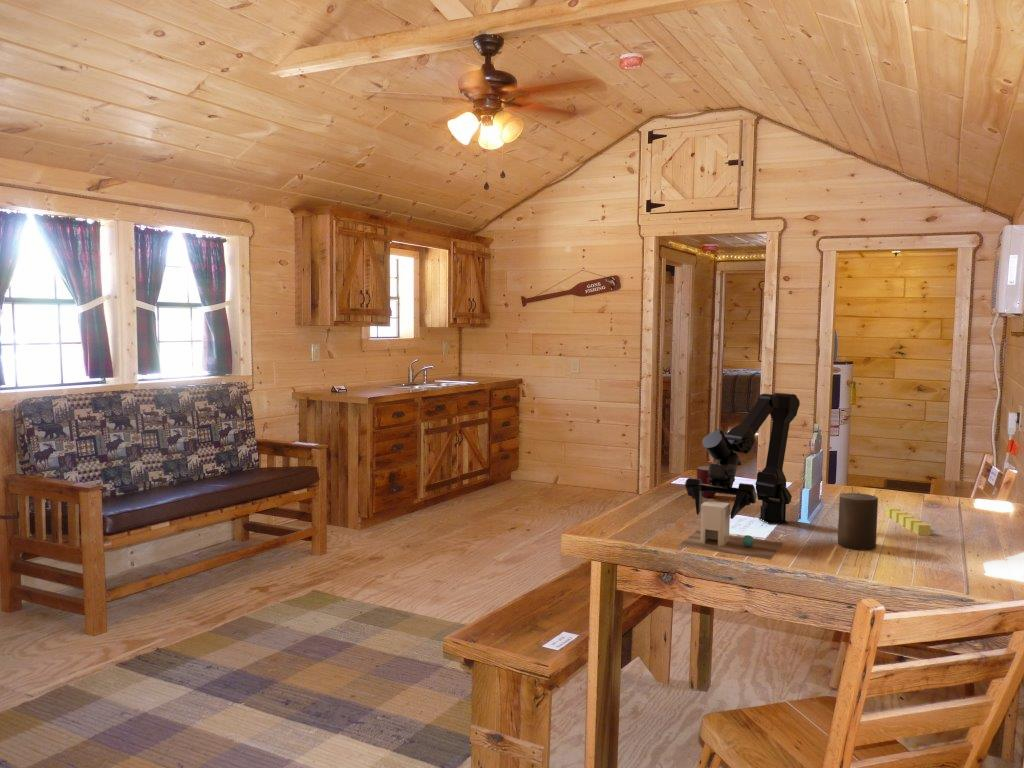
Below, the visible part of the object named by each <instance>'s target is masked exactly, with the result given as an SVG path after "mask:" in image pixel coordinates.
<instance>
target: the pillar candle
mask: <svg viewBox="0 0 1024 768" xmlns="http://www.w3.org/2000/svg"><path fill="white" fill-rule="evenodd" d="M878 500H879V498H878V496H875V495H871V494H867V493H860V491H857V493H855V492H845V493H844V492H843V493H839V504H838V520H837V521H838V523H837V524H838V525H837V544H838V545H839V546H840V547H843V548H846V549H850V550H858V551H873V550H875V549H877V536H878V535H877V528H878V503H879V501H878Z"/></svg>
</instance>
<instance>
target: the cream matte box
mask: <svg viewBox="0 0 1024 768" xmlns="http://www.w3.org/2000/svg"><path fill="white" fill-rule="evenodd" d="M700 508H701V509H700V531H701V537H700V542H702V543H703V544H705V541H706V540H707V539H714V540H718V546H721V545H723V546H724V545H725V544H726V543H727V542H728V541H729V535H730V527H731V526H730V521H731V518H730V515H731V502H722V501H715V500H714V501H713V500H706V501H704V502H702V504H701V506H700Z"/></svg>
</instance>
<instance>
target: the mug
mask: <svg viewBox="0 0 1024 768" xmlns="http://www.w3.org/2000/svg"><path fill="white" fill-rule="evenodd" d="M708 470H709V465H707V466H706V465H704V466H698V467H696V479H701V481H702V484H708V485H711V482H710V481H709V477H710V476H708ZM716 494H717V493H713V492H704V493H703V496H702V498H710V499H712V498H714V497H715V495H716Z"/></svg>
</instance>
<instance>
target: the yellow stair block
mask: <svg viewBox="0 0 1024 768" xmlns="http://www.w3.org/2000/svg"><path fill="white" fill-rule="evenodd" d="M885 515H886V516H887V517H886V516H885ZM884 516H885V517H886V518H888V517H889V518H892V519H893V520H894V521H893V520H892V519H891V520H892V521H893V522H895V521H896V522H895V523H899V524H898V525H900V524H901V525H900V526H902V527H906V529H907V530H908V531H911V532H913V533H915V534H916V535H918V536H931V524H928V523H927V522H923V520H921V519H919V518H916V517H915V516H913V515H911V514H908V513H907V512H906V511H904V510H901V509H900V508H899V507H896V506H893V507H892V506H885V508H884ZM889 518H888V519H889Z"/></svg>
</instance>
